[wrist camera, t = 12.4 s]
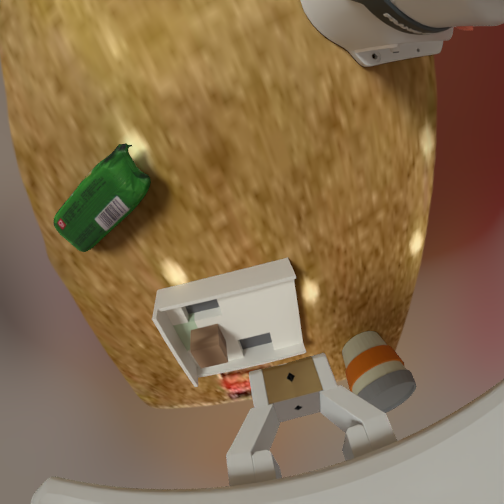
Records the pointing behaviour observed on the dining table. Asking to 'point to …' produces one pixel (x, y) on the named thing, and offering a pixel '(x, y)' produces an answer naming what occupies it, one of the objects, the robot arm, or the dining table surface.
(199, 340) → the walnut cube
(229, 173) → the dining table surface
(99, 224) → the snack package
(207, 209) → the dining table surface
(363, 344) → the reusable coffee cup
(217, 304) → the box
